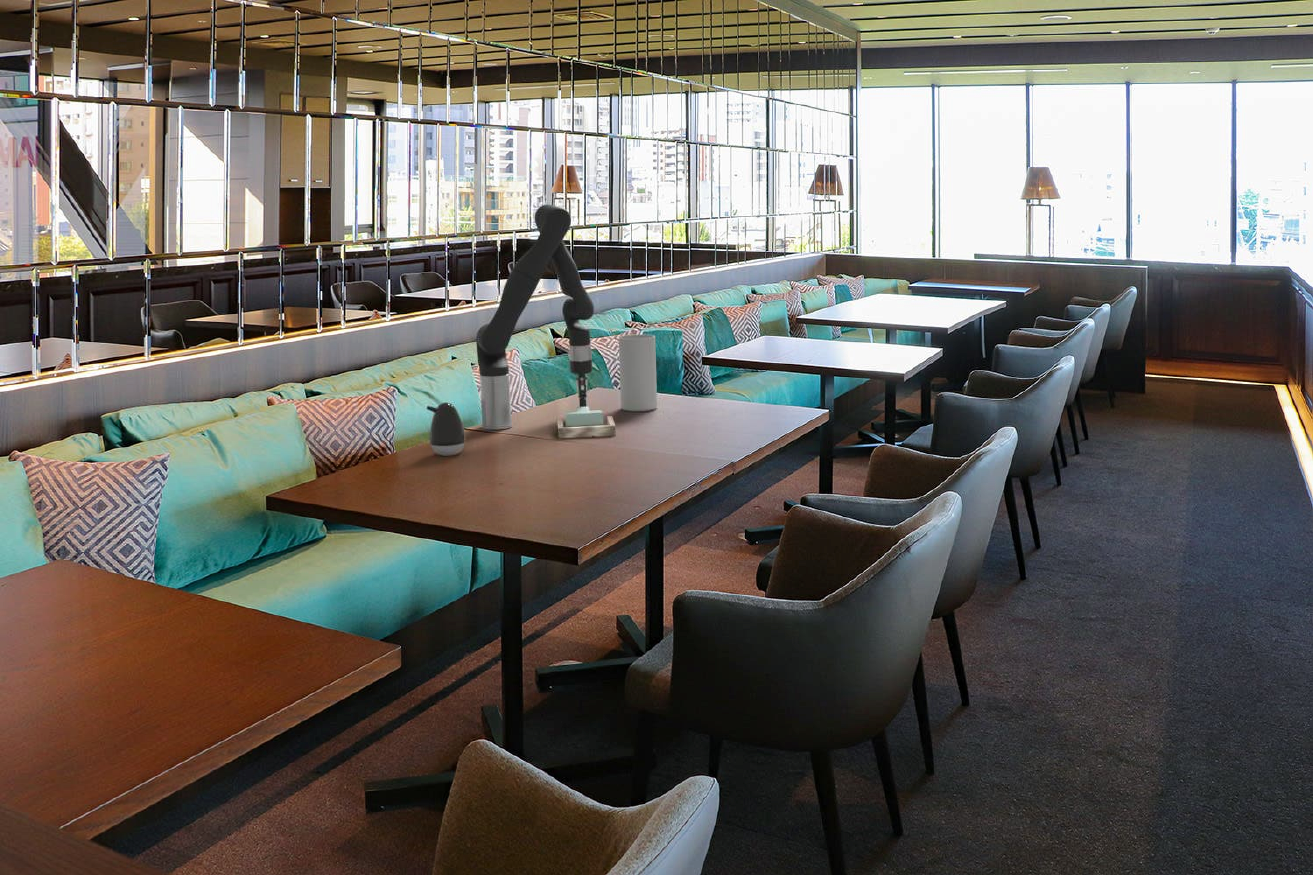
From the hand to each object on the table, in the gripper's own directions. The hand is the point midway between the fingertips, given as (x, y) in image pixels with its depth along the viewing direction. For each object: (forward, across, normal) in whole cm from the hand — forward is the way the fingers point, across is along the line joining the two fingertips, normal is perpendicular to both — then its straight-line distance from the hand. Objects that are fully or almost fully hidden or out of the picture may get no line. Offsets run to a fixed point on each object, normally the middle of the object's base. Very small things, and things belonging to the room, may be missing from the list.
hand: (583, 409), depth 375 cm
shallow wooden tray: (+2, +28, 0) cm, 28 cm away
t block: (+2, +11, 0) cm, 11 cm away
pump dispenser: (+2, +51, -41) cm, 66 cm away
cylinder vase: (+2, -8, +20) cm, 21 cm away
